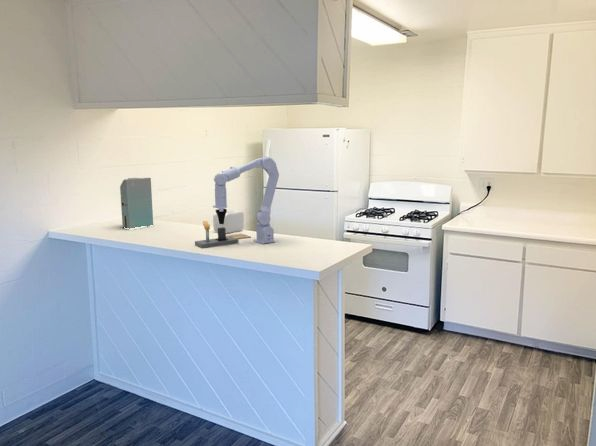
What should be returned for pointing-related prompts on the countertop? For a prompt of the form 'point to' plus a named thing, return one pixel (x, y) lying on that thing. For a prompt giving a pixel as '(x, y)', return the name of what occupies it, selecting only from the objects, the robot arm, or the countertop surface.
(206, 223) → the clip
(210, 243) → the grey base with posts
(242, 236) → the cork mat
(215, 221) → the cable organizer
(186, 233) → the countertop surface
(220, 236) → the plug
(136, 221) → the device
